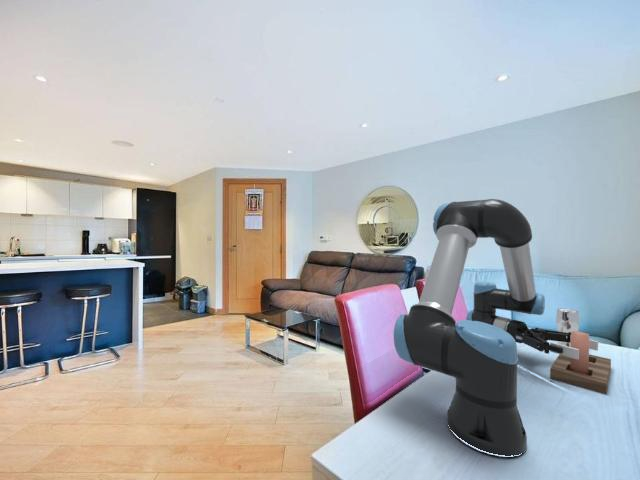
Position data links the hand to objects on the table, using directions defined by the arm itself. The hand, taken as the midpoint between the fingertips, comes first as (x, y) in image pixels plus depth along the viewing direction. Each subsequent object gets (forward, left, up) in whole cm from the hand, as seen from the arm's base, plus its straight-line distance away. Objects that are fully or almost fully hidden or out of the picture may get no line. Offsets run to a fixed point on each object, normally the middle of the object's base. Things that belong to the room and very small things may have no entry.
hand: (588, 350), depth 83 cm
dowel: (-1, +2, -10) cm, 10 cm away
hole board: (+5, +5, -11) cm, 13 cm away
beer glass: (+25, +26, -11) cm, 38 cm away
